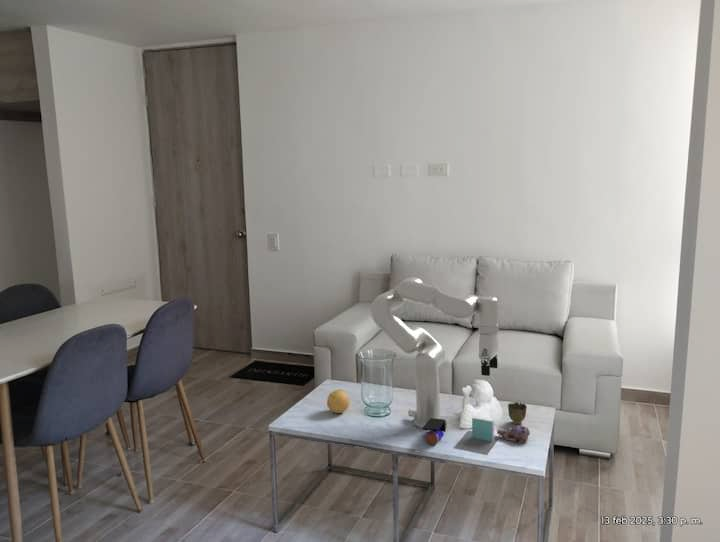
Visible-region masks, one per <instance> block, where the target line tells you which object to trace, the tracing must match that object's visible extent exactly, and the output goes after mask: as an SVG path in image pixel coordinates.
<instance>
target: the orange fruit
mask: <svg viewBox="0 0 720 542" xmlns="http://www.w3.org/2000/svg"><path fill="white" fill-rule="evenodd" d="M350 403H351V400H350V397H349V395H348V394H347V392H346V391H344V390H342V389H336V390H333V391H332V392H330V393H329V395H328V397H327V400H326V405H327V408H328V410H329V411H330V412H332V413H335V414H341V413H344V412H346V410H348V408H349V407H350Z"/></svg>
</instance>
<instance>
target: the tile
mask: <svg viewBox="0 0 720 542" xmlns="http://www.w3.org/2000/svg"><path fill="white" fill-rule="evenodd" d="M471 421H472V422H471V423H472V424H471V431H472V438H477V439H482V440H487V441H493V440H494V435H495V419H491V418H485V417H481V416H473V417H472V418H471Z"/></svg>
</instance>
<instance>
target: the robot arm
mask: <svg viewBox="0 0 720 542" xmlns="http://www.w3.org/2000/svg"><path fill="white" fill-rule="evenodd" d="M409 302H410V303H412V304H413V303H414V304H417V305H422V306H425V307H430V308H432V309H434V310H435V311H437V312H439V313H441V314H444V315H447V316H449V317H454V318H457V319H469V318H471V317H472V316H473V315H475V314H478V318H477V319H478V333H479V339H478V340H479V341H478V359H480V365H481V366H480V368H481V369H480V370H481V371H480V373H481V374H480V375H482V376H485V377H487V376H488V377H490V376H491V368H492V369H497V368H498V367H499V366H498V364H499V363H498V352H499V351H498V350H499V347H498V346H499V343H498V341H499V339H498V334H499V333H500V329H499V328H500V327H499V326H500V325H499V300H498V299H497V298H496V297H494V296H479V295H475V294H468V295H465V296H464V297H462V298H457V297H453V296H449V295H447V294H445V293H443V292H442V291H441V290H440V288H439V287H438V286H434V285H431V284H427V283H424V282H423V281H422V279H420V278H418V277H416V276H412V277H408V278H406V279H404V280H402V281H401V282H399V284H398V285H396V286H394V287H393V288H392V289H390V290H387V291H386V292H384V293H381V294H380V295H377V296H376V297H375V298H374V299H373V301H372V303H371V306H370V315H371V319H372V320H373V322H374V323H375V324H376V326H377V327H378V328H379V329H380V330H381V331H382V332H384V333H385V334H386V336H387V337H389V339H391V341H392V342H393V343H394V344H395V345H396V346H397V347H398V348H399V349H400V350H401V351H402V352H403V353H405V354H414V353H415V352H417V354H416V356H415V358H414V360H413V367H414V369H413V370H414V375H415V387H416V388H415V393H416V397H415V399H416V403H415V405H416V407H415V408H416V409H415V410H414V409H408V412H407V413H408V417H413V420H412V423H413V425H414V426H415V427H417V428H420V429H422V428H423V427H424V425H425V424H426V423H427V422H428V421H429V419H430V418H435V419H443V418H442V417H440V415H441V410H440V376H439V372H438V369H439V367H440V366H441V365H442V364H443V363H444V362H445V360H446V352H445V349H444V347H442V345H441V344H440V343H439V342H438V341H437V340H436V339H435V338H434V337H433V336H432V335H431V334H430V333H429V332H428V331H427V330H426V329H425V328H423V327H421V326H417V325H412V326H407V325H406V323H405V322H404V321H402V319H400V318H399V317H397V316H396V315H395V314H393V312H394V311H396V310H398V309H400V308H402V307H403V306H404V305H406V304H408V303H409Z"/></svg>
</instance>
